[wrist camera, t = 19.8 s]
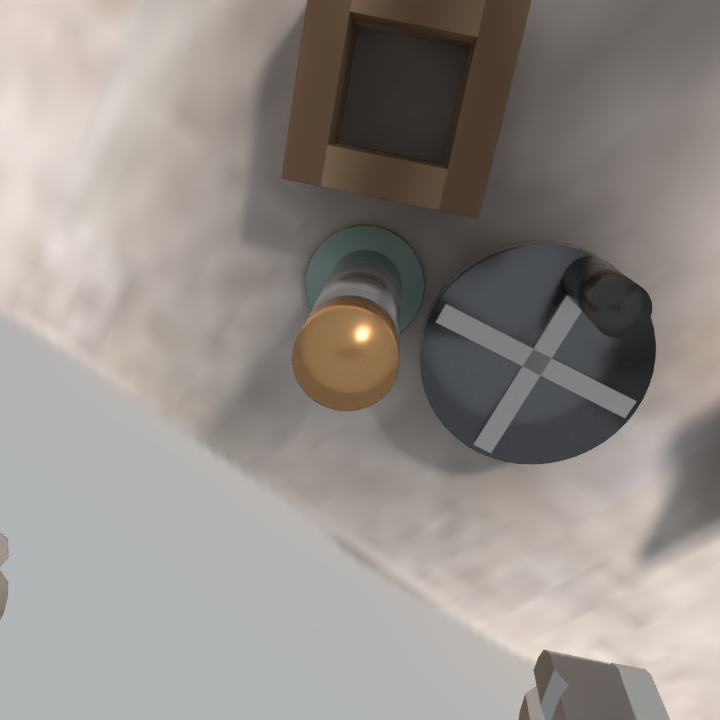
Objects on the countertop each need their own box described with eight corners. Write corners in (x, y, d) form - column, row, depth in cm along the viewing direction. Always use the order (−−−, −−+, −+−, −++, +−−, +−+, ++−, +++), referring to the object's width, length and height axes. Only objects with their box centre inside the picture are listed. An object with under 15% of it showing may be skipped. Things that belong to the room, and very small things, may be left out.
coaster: (435, 238, 32) (435, 240, 31) (410, 351, 34) (410, 353, 33) (317, 214, 32) (315, 215, 31) (298, 328, 34) (296, 330, 33)
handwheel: (567, 486, 33) (601, 564, 27) (382, 394, 32) (375, 454, 26) (693, 306, 30) (762, 350, 24) (490, 199, 29) (510, 218, 23)
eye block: (515, 14, 28) (531, -3, 25) (469, 206, 31) (478, 218, 27) (327, -24, 29) (314, -46, 25) (297, 172, 31) (281, 178, 27)
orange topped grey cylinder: (408, 257, 32) (408, 322, 21) (393, 326, 33) (386, 420, 22) (336, 243, 32) (301, 300, 21) (324, 312, 33) (285, 399, 22)
